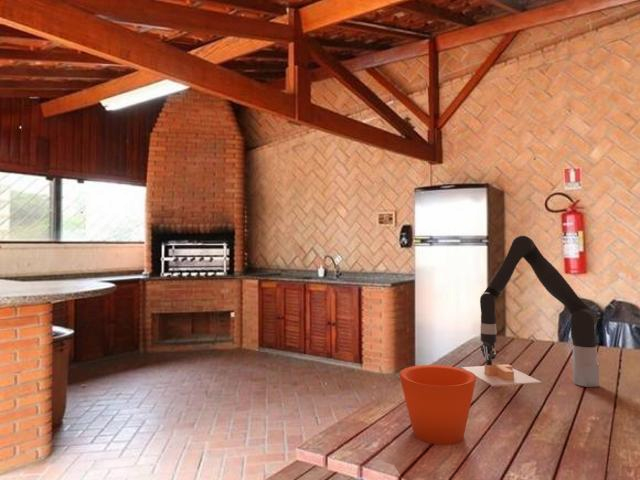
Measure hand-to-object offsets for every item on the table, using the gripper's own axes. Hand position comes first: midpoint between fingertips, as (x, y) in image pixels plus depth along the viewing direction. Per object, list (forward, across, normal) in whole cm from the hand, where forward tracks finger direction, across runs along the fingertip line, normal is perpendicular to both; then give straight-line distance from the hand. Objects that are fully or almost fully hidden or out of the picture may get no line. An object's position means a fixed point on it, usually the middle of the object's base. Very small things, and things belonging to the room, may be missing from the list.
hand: (489, 366), depth 225 cm
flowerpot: (+2, -68, +55) cm, 87 cm away
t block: (+1, -13, 0) cm, 13 cm away
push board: (+2, -8, 0) cm, 9 cm away
